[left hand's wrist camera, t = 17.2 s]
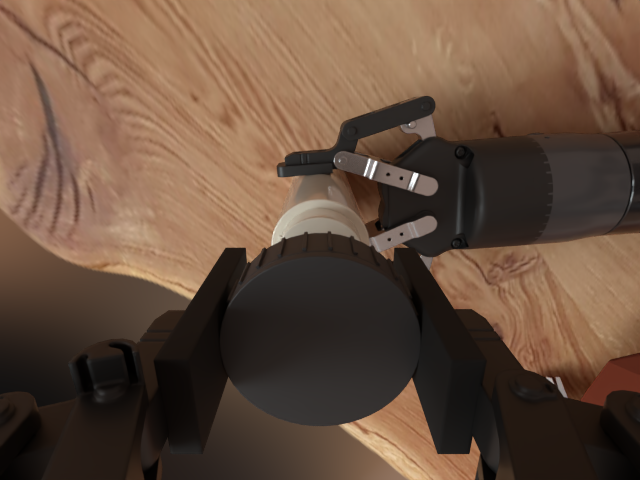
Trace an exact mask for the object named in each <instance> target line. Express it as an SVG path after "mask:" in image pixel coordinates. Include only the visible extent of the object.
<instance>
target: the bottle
mask: <svg viewBox="0 0 640 480" xmlns="http://www.w3.org/2000/svg"><path fill="white" fill-rule="evenodd" d="M328 231H331V234H338V235H343V236H347V237H350V236H354V239H356V240H358V241H361V242H363V243H365V244H366V245H368V246H370V243H369V236H368V232H367V229H366V226H365V224H364V221H363V218H362V216H361V213H360V210H359V208H358V205H357V203H356V200H355V197H354V195H353V192H352V189H351V187H350V184H349V181H348V179H347V176H346V174H345V172H344V171H343V170H340V169H334V170H333V173H330V174H316V175H305V176H294V178H293V181H292V184H291V186H290V189H289V191H288V194H287V197H286V199H285V202H284V205H283V207H282V210H281V213H280V215H279V218H278V221H277V223H276V226H275V229H274V231H273V235H272V241H271V246H272V245H274V244H276V243H278V242H280V241H281V240H282V238H284V237H285V238H286V239H288V238H290V237H294V236H298V235H302V234H304V232H308V234H310V233H328Z"/></svg>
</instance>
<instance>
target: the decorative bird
mask: <svg viewBox="0 0 640 480" xmlns="http://www.w3.org/2000/svg"><path fill="white" fill-rule="evenodd" d="M546 378H547V379H548V380H549V381H551V382H552V383H553V384H554V385H556V386H557V388H558V389H559V390H560V392H561V393H562V395H563V397H566V398H568V397H567V394H566V392H565V389H564V387H563V384H562V382H561V379H560V377H558V376H556V377H555V378H556V381H557V383H556V381H555V379H554V377H549V376H547V377H546ZM618 390H627V391H634V392H638V393H640V353H637V354H633V355H628V356H624V357H620V358H616V359H612V360H610V361H609V362H608V363H607V364H606V365H605V367H604V368H603V369H602V371H601V372H600V373H599V375H598V376H597V377H596V379H595V380H594V382H593V383H592V384H591V386H590V387H589V388H588V390H587V391H586V392H585V394H584V396H583V397H582V399H581V400H580V401H582V402H587V403H591V404H596V405H600V406H603V405H604V402H605V399H606V396H607V395H608V394H610V393H611V392H612V391H618Z"/></svg>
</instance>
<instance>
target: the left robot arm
mask: <svg viewBox="0 0 640 480" xmlns="http://www.w3.org/2000/svg"><path fill="white" fill-rule="evenodd" d="M246 264H247V259H246V248H225V250H224V251H223V253H222V254H221V256H220V257H219V259H218V261H217V262H216V264H215V265H214V267H213V268H212V270H211V271H210V273H209V275H208V276H207V278H206V279H205V281H204V282H203V284H202V285H201V287H200V289H199V290H198V292H197V293H196V295H195V296H194V298H193V299H192V301H191V302H190V304H189V306H188V307H187V309H186V310H169V311H167V312H166V313H164V314H163V315H161V316H160V317H158V318H157V319H155V320H154V322H153V323H152V324H151V326H150V327H149V328H148V330H147V333H145V334H144V335H143V336H142V338H141V339H140V342H138V343H137V344H136V343H135V342H133V341H131V340H127V339H111V340H106V341H103V342H99V343H96V344H94V345H91V346H89V347H87V348H85V349H83V350H82V351H81V352H79V353H78V354H76V355H75V356H74V357H73V358H72V359H71V361H70V362H69V363H68V364H69V368H70V371H71V375H72V378H73V382H74V385H75V389H76V392H77V397H76V399H73V400H69V401H65V402H61V403H56V404H52V405H47V406H43V407H37V404H36V401H35V399H34V397H33V396H32V395H30V394H29V393H26V392H11V393H5V394H1V395H0V480H161V477H162V463H161V457H160V453H161V451H162V448H163V446H164V444H165V442H166V439H167V437H168V441H169V446H170V452H171V454H203V451H204V448H205V445H206V442H207V439H208V436H209V433H210V430H211V427H212V424H213V421H214V418H215V415H216V412H217V409H218V406H219V403H220V400H221V397H222V394H223V391H224V388H225V385H226V382H227V379H228V375H227V372H226V370H225V368H224V365H223V362H222V358H221V352H220V343H219V336H220V328H221V323H222V319H223V317H224V314H225V311H226V309H227V307H228V304H229V303H227V300H228V297H229V295H230V293H231V291H232V289H233V287H234V285H235V282H236V280H237V279H239V280H240V278H241V276H242V273H243V271H244V269H245V267H246ZM393 266H394V269H395V270H396V272H397V273H398V275H399V276H400V275H402V277H403V279H404V281H405V283H406V285H407V287H408V290H409V292H410V294H411V296H412V298H411V300H412V302H413V304H414V306H415V308H416V311H417V313H418V315H419V317H418V320H419V324H420V329H421V346H420V354H419V361H418V364H417V367H416V369H415V372H414V374H413V376H412V378H413V381H414V384H415V387H416V390H417V393H418V396H419V399H420V402H421V405H422V408H423V411H424V414H425V417H426V420H427V423H428V426H429V429H430V432H431V435H432V438H433V441H434V444H435V447H436V450H437V453H438V454H469V453H470V447H471V442H472V437H474V439H475V441H476V444H477V446H478V448H479V450H480V457H479V462H478V467H477V472H476V477H475V480H640V393H638V392H634V391H627V390H618V391H612V392H611V393H610V394H608V395H607V396H606V399H605V402H604V405H603V406H600V405H596V404H591V403H587V402H582V401H578V400H573V399H570V398H566V397H563V395H562V393H561V392H560V390H559V389H558V388H557V386H556V385H554V384H553V383H552V382H551V381H549V380H548V379H547V378H545V377H543V376H541V375H539V374H537V373H535V372H531V371H528V370H524V368H523V367H522V366H521V364H520V363H519V362H518V360H517V359H516V358H515V357H514V355H513V354H512V353H511V351H510V350H509V349H508V347H507V346H506V345H505V343H504V342H503V341H502V340H500V337H499V336H498V334H497V333H496V332H495V331H494V329H493V328H492V326H491V325H490V324H489V322H488V321H487V320H486V318H484V317H483V316H481V315H480V314H478V313H477V312H475V311H474V310H472V309H454V308H453V307H452V305H451V304H450V302H449V301H448V299H447V297H446V296H445V294H444V293H443V291H442V290H441V288H440V287H439V285H438V283H437V282H436V280H435V279H434V277H433V276H432V274H431V273H430V271H429V270H428V268H427V266H426V265H425V263H424V262H423V260H422V259H421V257H420V256H419V254H418V252H417V251H416V249H415V248H394V262H393Z"/></svg>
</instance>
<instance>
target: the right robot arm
mask: <svg viewBox="0 0 640 480" xmlns="http://www.w3.org/2000/svg"><path fill="white" fill-rule="evenodd" d="M434 110H435V101H434V100H433V98H431V97H429V96H422V97H414V98H411V99H408V100H405V101H402V102H399V103H396V104H393V105H391V106H388V107H385V108H382V109H379V110H376V111H373V112H370V113H367V114H364V115H361V116H358V117H355V118H352V119H349V120H346V121H344V122H343V123H342V125H341V127H340V132H339V136H338V139H337V142H336V144H335V145H334V146H333V147H332V148H330V149H324V150H311V151H299V152H292V153H290V154H288V155H286V157H285V162H282V163H279V164H278V165H277V174H278V177H292V176H305V175H316V174H330V173H333V170H334V169H340V170H343V171H347V172H350V173H354V174H357V175H361V176H364V177H366V178H369V179H371V180H374V181H378V190H379V194H380V197H381V201H380V205H379V209H378V212H379V218H377V219H375V220H373V221H370V222H368V223H366V224H365V226H366V229H367V232H368V236H369V243H370V246H371V245H373V246H374V247H375V250H376V251H377V252H382V251H384V250H387V249H389V248H391V247H394V246H396V245H398V244H401V243H402V244H404V245H406V246H407V247H409V248H415V249H416V251H417V252H418V254H419V256H420V257H421V259H422V260H423V262H424V263H425V265H426V266H427V268H428V270H430V267H431V263H432V259H433V257H436V256H438V255H440V254H442V253H444V252H446V251H448V250H451V249H478V248H491V247H505V246H519V245H531V244H545V243H558V242H567V241H573V240H578V239H582V238H587V237H593V236H604V235H618V234H631V233H640V130H635V131H623V132H610V133H598V134H580V133H551V134H543V133H532V134H528V135H526V136H514V137H502V138H489V139H477V140H465V141H447V140H445V139H443V138H441V137H437V136H436V133H435V128H434V123H433V119H432V113H433V112H434ZM397 126H398V127H399V129H400V130H401V131H402V132H404V133H407V134H411V133H415V134H417V136H418V137H419V140H418V141H416V142H415V143H414V144H413V145H411V146H410V147H409V148H408V149H407V150H405V151H404V152H403V153H402V154H400V155H399V156H398V157H397V158H396V159H394V160H393V161H390V160H386V159H383V158H379V157H376V156H372V155H368V154H364V153H360V152H357V151H355V148H356V145H357V142H358V139H361V138H364V137H367V136H370V135H373V134H376V133H379V132H382V131H385V130H388V129H391V128H394V127H397ZM388 238H389V239H388ZM391 262H392V264H393V262H394V261H391Z"/></svg>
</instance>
